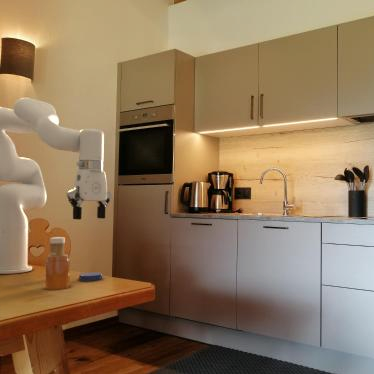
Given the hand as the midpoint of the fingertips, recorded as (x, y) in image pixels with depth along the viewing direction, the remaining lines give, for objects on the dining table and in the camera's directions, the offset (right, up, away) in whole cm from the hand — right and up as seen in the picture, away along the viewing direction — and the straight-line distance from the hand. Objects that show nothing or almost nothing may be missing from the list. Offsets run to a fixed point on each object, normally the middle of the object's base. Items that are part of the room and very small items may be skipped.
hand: (89, 218), depth 138 cm
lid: (+1, -18, -2) cm, 18 cm away
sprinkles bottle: (-11, -20, 0) cm, 22 cm away
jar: (-4, -19, -14) cm, 24 cm away
